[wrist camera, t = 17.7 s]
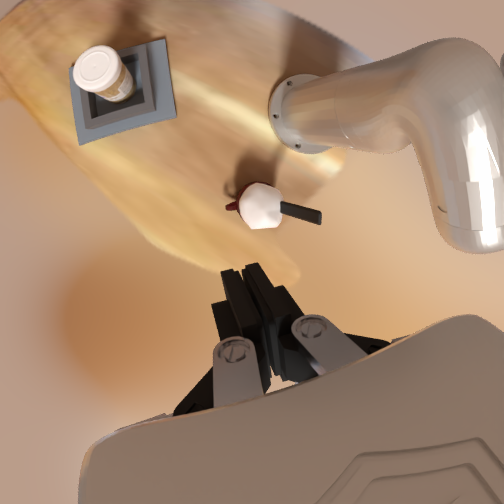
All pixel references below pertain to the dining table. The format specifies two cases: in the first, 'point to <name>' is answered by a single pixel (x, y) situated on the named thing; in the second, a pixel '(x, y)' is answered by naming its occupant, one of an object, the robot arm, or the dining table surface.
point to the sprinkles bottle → (104, 74)
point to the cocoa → (268, 207)
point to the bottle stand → (135, 109)
